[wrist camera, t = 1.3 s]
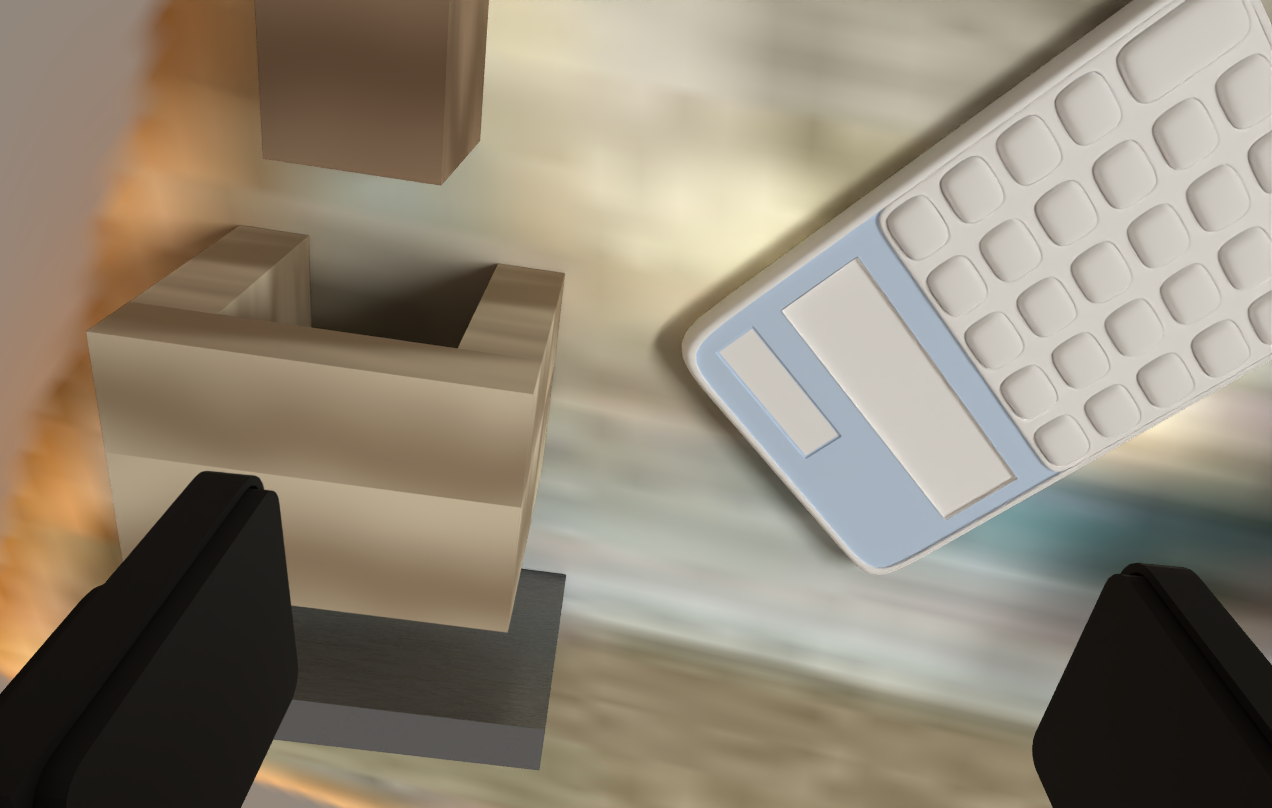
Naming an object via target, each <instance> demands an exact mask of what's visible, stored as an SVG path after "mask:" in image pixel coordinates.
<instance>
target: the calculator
mask: <svg viewBox="0 0 1272 808" xmlns="http://www.w3.org/2000/svg"><path fill="white" fill-rule="evenodd" d="M1262 56H1263V57H1262ZM1096 72H1097V73H1096ZM1099 74H1100V75H1099ZM1194 98H1195V99H1194ZM1196 99H1197V100H1196ZM1039 117H1040V118H1041V119H1042V120H1041V119H1040V118H1039ZM1045 124H1046V125H1045ZM1236 128H1238V129H1236ZM1134 141H1135V142H1134ZM986 163H987V164H986ZM1226 164H1227V165H1226ZM1228 165H1229V166H1228ZM1230 166H1231V167H1230ZM989 167H990V168H989ZM991 170H992V171H991ZM994 175H995V176H994ZM1017 182H1018V183H1017ZM1019 183H1020V184H1019ZM1021 184H1022V185H1021ZM930 201H931V202H932V203H931V202H930ZM1169 205H1170V206H1169ZM934 206H935V207H934ZM936 209H937V210H936ZM938 212H939V213H938ZM940 215H941V216H940ZM942 218H943V219H942ZM943 220H944V221H943ZM1025 226H1026V227H1025ZM947 228H948V229H947ZM1028 230H1029V231H1028ZM1030 233H1031V234H1030ZM1033 238H1034V239H1033ZM1112 243H1113V244H1114V245H1113V244H1112ZM969 260H970V261H969ZM972 264H973V265H974V266H973V265H972ZM1149 267H1150V268H1149ZM975 268H976V269H975ZM977 271H978V272H977ZM979 274H980V275H979ZM999 278H1000V279H999ZM982 279H983V280H982ZM983 281H984V282H983ZM1061 284H1062V285H1061ZM1234 287H1235V288H1234ZM1236 288H1237V289H1236ZM1067 293H1068V294H1067ZM1089 300H1090V301H1089ZM1091 301H1092V302H1091ZM1150 306H1151V307H1150ZM1006 316H1007V317H1006ZM1010 321H1011V322H1010ZM1177 321H1178V322H1177ZM1179 322H1180V323H1179ZM1012 324H1013V325H1012ZM1014 327H1015V328H1014ZM1016 330H1017V331H1016ZM1017 332H1018V333H1017ZM1035 333H1036V334H1035ZM1020 337H1021V338H1020ZM1095 339H1096V340H1095ZM1098 343H1099V344H1098ZM681 346H682V356H683V360H684V362H685V364H686V366H687V368H688V370H689V372H690V373H691V375H692V376H693V377H694V379H695V380H696V381H697V383H698V384H699V385H700V386H701V388H702V389H703V390H704V391H705V392H706V394H707V395H708V396H709V397H710V398H711V399H712V401H713V402H714V403H715V404H716V405H717V406H718V408H719V409H720V410H721V411H722V412H723V413H724V414H725V416H726V417H727V418H728V419H729V420H730V421H731V423H732V424H733V425H734V426H735V427H736V428H737V429H738V431H739V432H740V433H741V434H742V435H743V436H744V438H745V439H746V440H747V441H748V442H749V443H750V445H751V446H752V447H753V448H754V449H755V450H756V451H757V453H758V454H759V455H760V456H761V457H762V458H763V460H764V461H765V462H766V463H767V464H768V465H769V466H770V468H771V469H772V470H773V471H774V472H775V473H776V475H777V476H778V477H779V478H780V479H781V480H782V482H783V483H784V484H785V485H786V486H787V487H788V488H789V490H790V491H791V492H792V493H793V494H794V495H795V497H796V498H797V499H798V500H799V501H800V502H801V503H802V505H803V506H804V507H805V508H806V509H807V510H808V512H809V513H810V514H811V515H812V516H813V517H814V519H815V520H816V521H817V522H818V523H819V524H820V525H821V527H822V528H823V529H824V530H825V531H826V532H827V534H828V535H829V536H830V537H831V538H832V539H833V541H834V542H835V543H836V544H837V545H838V546H839V547H840V549H841V550H842V551H843V552H844V553H845V554H846V555H847V556H848V557H849V558H850V559H851V560H852V561H853V562H854V563H855V564H856V565H857V566H858V567H860V568H861V569H862V570H864V571H865V572H867V573H870V574H874V575H882V574H888V573H891V572H893V571H896V570H898V569H901V568H903V567H905V566H907V565H909V564H911V563H913V562H915V561H916V560H918V559H920V558H922V557H924V556H926V555H927V554H929V553H931V552H933V551H934V550H936V549H938V548H940V547H942V546H943V545H945V544H947V543H949V542H950V541H952V540H954V539H956V538H957V537H959V536H961V535H963V534H965V533H966V532H968V531H970V530H972V529H973V528H975V527H977V526H979V525H980V524H982V523H984V522H986V521H987V520H989V519H991V518H993V517H995V516H996V515H998V514H1000V513H1002V512H1003V511H1005V510H1007V509H1009V508H1010V507H1012V506H1014V505H1016V504H1017V503H1019V502H1021V501H1023V500H1025V499H1026V498H1028V497H1030V496H1032V495H1033V494H1035V493H1037V492H1039V491H1040V490H1042V489H1044V488H1046V487H1047V486H1049V485H1051V484H1053V483H1055V482H1056V481H1058V480H1060V479H1062V478H1063V477H1065V476H1067V475H1069V474H1070V473H1072V472H1074V471H1076V470H1077V469H1079V468H1081V467H1083V466H1085V465H1086V464H1088V463H1090V462H1092V461H1093V460H1095V459H1097V458H1099V457H1100V456H1102V455H1104V454H1106V453H1107V452H1109V451H1111V450H1113V449H1115V448H1116V447H1118V446H1120V445H1122V444H1123V443H1125V442H1127V441H1129V440H1130V439H1132V438H1134V437H1136V436H1138V435H1139V434H1141V433H1143V432H1145V431H1146V430H1148V429H1150V428H1152V427H1153V426H1155V425H1157V424H1159V423H1160V422H1162V421H1164V420H1166V419H1168V418H1169V417H1171V416H1173V415H1175V414H1176V413H1178V412H1180V411H1182V410H1183V409H1185V408H1187V407H1189V406H1190V405H1192V404H1194V403H1196V402H1198V401H1199V400H1201V399H1203V398H1205V397H1206V396H1208V395H1210V394H1212V393H1213V392H1215V391H1217V390H1219V389H1220V388H1222V387H1224V386H1226V385H1228V384H1229V383H1231V382H1233V381H1235V380H1236V379H1238V378H1240V377H1242V376H1243V375H1245V374H1247V373H1249V372H1250V371H1252V370H1254V369H1256V368H1258V367H1259V366H1261V365H1263V364H1265V363H1266V362H1268V361H1270V360H1272V25H1271V23H1270V20H1269V18H1268V16H1267V14H1266V11H1265V9H1264V7H1263V5H1262V3H1261V0H1133V1H1131V2H1130V3H1128V4H1127V5H1126V6H1124V7H1123V8H1122V9H1120V10H1119V11H1117V12H1116V13H1115V14H1113V15H1112V16H1111V17H1109V18H1108V19H1106V20H1105V21H1104V22H1102V23H1101V24H1100V25H1098V26H1097V27H1095V28H1094V29H1093V30H1091V31H1090V32H1089V33H1087V34H1086V35H1084V36H1083V37H1082V38H1080V39H1079V40H1078V41H1076V42H1075V43H1073V44H1072V45H1071V46H1069V47H1068V48H1067V49H1065V50H1064V51H1062V52H1061V53H1060V54H1058V55H1057V56H1056V57H1054V58H1053V59H1051V60H1050V61H1049V62H1047V63H1046V64H1045V65H1043V66H1042V67H1041V68H1039V69H1038V70H1036V71H1035V72H1034V73H1032V74H1031V75H1030V76H1028V77H1027V78H1025V79H1024V80H1023V81H1021V82H1020V83H1019V84H1017V85H1016V86H1014V87H1013V88H1012V89H1010V90H1009V91H1008V92H1006V93H1005V94H1003V95H1002V96H1001V97H999V98H998V99H997V100H995V101H994V102H992V103H991V104H990V105H988V106H987V107H986V108H984V109H983V110H981V111H980V112H979V113H977V114H976V115H975V116H973V117H972V118H970V119H969V120H968V121H966V122H965V123H964V124H962V125H961V126H960V127H958V128H957V129H955V130H954V131H953V132H951V133H950V134H949V135H947V136H946V137H944V138H943V139H942V140H940V141H939V142H938V143H936V144H935V145H933V146H932V147H931V148H929V149H928V150H927V151H925V152H924V153H922V154H921V155H920V156H918V157H917V158H916V159H914V160H913V161H911V162H910V163H909V164H907V165H906V166H905V167H903V168H902V169H900V170H899V171H898V172H896V173H895V174H894V175H892V176H891V177H889V178H888V179H887V180H885V181H884V182H883V183H881V184H880V185H879V186H877V187H876V188H874V189H873V190H872V191H870V192H869V193H868V194H866V195H865V196H863V197H862V198H861V199H859V200H858V201H857V202H855V203H854V204H852V205H851V206H850V207H848V208H847V209H846V210H844V211H843V212H841V213H840V214H839V215H837V216H836V217H835V218H833V219H832V220H830V221H829V222H828V223H826V224H825V225H824V226H822V227H821V228H819V229H818V230H817V231H815V232H814V233H813V234H811V235H810V236H809V237H807V238H806V239H804V240H803V241H802V242H800V243H799V244H798V245H796V246H795V247H793V248H792V249H791V250H789V251H788V252H787V253H785V254H784V255H782V256H781V257H780V258H778V259H777V260H776V261H774V262H773V263H771V264H770V265H769V266H767V267H766V268H765V269H763V270H762V271H760V272H759V273H758V274H756V275H755V276H754V277H752V278H751V279H749V280H748V281H747V282H745V283H744V284H743V285H741V286H740V287H739V288H737V289H736V290H734V291H733V292H732V293H730V294H729V295H728V296H726V297H725V298H724V299H722V300H721V301H719V302H718V303H717V304H715V305H714V306H713V307H712V308H710V309H709V310H708V311H707V312H705V313H704V314H703V315H702V316H700V317H699V318H698V319H697V320H696V321H695V322H694V323H693V324H692V325H691V326H690V327H689V328H688V330H687V331H686V333H685V336H684V338H683V340H682V343H681ZM1176 354H1177V355H1178V356H1179V357H1180V358H1179V357H1178V356H1177V355H1176ZM1041 369H1042V370H1041ZM1045 374H1046V375H1045ZM1047 377H1048V378H1047ZM1049 380H1050V381H1049ZM1050 382H1051V383H1050ZM1052 385H1053V386H1052ZM1069 385H1070V386H1069ZM1123 386H1124V387H1123ZM1125 388H1126V389H1125ZM1128 392H1129V393H1128ZM1132 398H1133V399H1132ZM1135 403H1136V404H1135ZM1152 404H1153V405H1152ZM1154 405H1155V406H1154ZM1075 420H1076V421H1075ZM1078 424H1079V425H1078ZM1080 427H1081V428H1080ZM1082 430H1083V431H1082ZM1083 432H1084V433H1083ZM1101 434H1102V435H1101ZM1086 437H1087V438H1086Z"/></svg>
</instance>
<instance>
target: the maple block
mask: <svg viewBox="0 0 1272 808" xmlns="http://www.w3.org/2000/svg"><path fill="white" fill-rule="evenodd" d="M564 277H565V274H564V273H557V272H551V271H544V270H537V269H530V268H524V267H517V266H510V265H503V264H498V265H497V267H496V269H495V271H494V273H493V275H492V277H491V280H490V282H489V284H488V286H487V288H486V290H485V292H484V294H483V296H482V298H481V301H480V303H479V305H478V307H477V309H476V311H475V313H474V315H473V317H472V319H471V321H470V324H469V326H468V328H467V330H466V332H465V334H464V336H463V338H462V340H461V342H460V345H459V347H458V348H451V347H444V346H437V345H430V344H423V343H416V342H409V341H402V340H395V339H388V338H381V337H374V336H367V335H360V334H353V333H346V332H339V331H332V330H325V329H318V328H311V297H310V261H309V236H308V235H302V234H295V233H288V232H281V231H275V230H268V229H261V228H255V227H248V226H241V225H239V226H238V227H236V228H235V229H234V230H232V231H231V232H229V233H228V234H226V235H225V236H223V237H222V238H221V239H219V240H218V241H216V242H215V243H213V244H212V245H210V246H209V247H208V248H206V249H205V250H203V251H202V252H200V253H199V254H197V255H196V256H194V257H193V258H192V259H190V260H189V261H187V262H186V263H184V264H183V265H181V266H180V267H179V268H177V269H176V270H174V271H173V272H171V273H170V274H168V275H167V276H166V277H164V278H163V279H161V280H160V281H158V282H157V283H155V284H154V285H152V286H151V287H150V288H148V289H147V290H145V291H144V292H142V293H141V294H139V295H138V296H137V297H135V298H134V299H132V300H131V301H129V302H128V303H126V304H125V305H124V306H122V307H121V308H119V309H118V310H116V311H115V312H113V313H112V314H110V315H109V316H108V317H106V318H105V319H103V320H102V321H100V322H99V323H97V324H96V325H95V326H93V327H92V328H90V329H89V330H87V331H86V335H87V341H88V348H89V354H90V360H91V366H92V373H93V379H94V385H95V391H96V398H97V404H98V410H99V416H100V423H101V429H102V435H103V441H104V448H105V454H106V460H107V466H108V473H109V479H110V485H111V491H112V498H113V504H114V510H115V516H116V523H117V529H118V535H119V541H120V548H121V554H122V560H123V561H124V560H125V559H126V558H127V557H128V555H129V554H130V553H131V552H132V551H133V549H134V548H135V547H136V546H137V545H138V544H139V542H140V541H141V540H142V539H143V538H144V536H145V535H146V534H147V533H148V532H149V531H150V529H151V528H152V527H153V526H154V525H155V523H156V522H157V521H158V520H159V519H160V518H161V516H162V515H163V514H164V513H165V512H166V510H167V509H168V508H169V507H170V506H171V505H172V503H173V502H174V501H175V500H176V499H177V497H178V496H179V495H180V494H181V493H182V492H183V490H184V489H185V488H186V487H187V486H188V484H189V483H190V482H191V481H192V480H193V479H194V477H195V476H197V475H198V474H199V473H200V472H203V471H215V472H225V473H235V474H245V475H255V476H257V477H259V478H260V479H261V481H262V483H263V486H264V490H273V491H275V492H276V493H277V495H278V498H279V503H280V512H281V520H282V529H283V538H284V546H285V555H286V564H287V573H288V581H289V590H290V599H291V605H292V606H300V607H308V608H316V609H324V610H332V611H340V612H348V613H356V614H364V615H372V616H380V617H388V618H396V619H404V620H412V621H420V622H428V623H436V624H444V625H452V626H460V627H468V628H476V629H484V630H492V631H500V632H508V629H509V624H510V620H511V615H512V610H513V605H514V600H515V596H516V591H517V586H518V581H519V576H520V572H521V567H522V562H523V557H524V552H525V548H526V543H527V538H528V533H529V528H530V524H531V519H532V514H533V509H534V504H535V500H536V495H537V490H538V485H539V480H540V476H541V471H542V464H543V455H544V447H545V439H546V430H547V422H548V413H549V405H550V396H551V388H552V379H553V371H554V362H555V354H556V345H557V337H558V328H559V320H560V311H561V303H562V294H563V286H564Z"/></svg>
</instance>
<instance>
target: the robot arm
mask: <svg viewBox="0 0 1272 808" xmlns="http://www.w3.org/2000/svg"><path fill="white" fill-rule="evenodd" d="M297 680H298V660H297V651H296V642H295V634H294V625H293V616H292V607H291V599H290V590H289V581H288V573H287V564H286V555H285V546H284V538H283V529H282V520H281V512H280V503H279V498H278V495H277V493H276V492H275V491H273V490H264V486H263V483H262V481H261V479H260V478H259V477H257V476H255V475H245V474H235V473H225V472H215V471H203V472H200V473H199V474H198V475H197V476H195V477H194V479H193V480H192V481H191V482H190V483H189V484H188V486H187V487H186V488H185V489H184V490H183V492H182V493H181V494H180V495H179V496H178V497H177V499H176V500H175V501H174V502H173V503H172V505H171V506H170V507H169V508H168V509H167V510H166V512H165V513H164V514H163V515H162V516H161V518H160V519H159V520H158V521H157V522H156V523H155V525H154V526H153V527H152V528H151V529H150V531H149V532H148V533H147V534H146V535H145V536H144V538H143V539H142V540H141V541H140V542H139V544H138V545H137V546H136V547H135V548H134V549H133V551H132V552H131V553H130V554H129V555H128V557H127V558H126V559H125V560H124V561H123V562H122V564H121V565H120V566H119V567H118V568H117V570H116V571H115V572H114V573H113V574H112V575H111V577H110V578H109V579H108V580H107V581H106V583H105V584H103V585H101V586H98V587H96V588H94V589H93V590H91V591H90V592H89V593H88V594H87V595H86V596H85V597H84V598H83V599H82V600H81V601H80V602H79V603H78V604H77V605H76V607H75V608H74V609H73V610H72V611H71V612H70V614H69V615H68V616H67V617H66V618H65V619H64V620H63V622H62V623H61V624H60V625H59V626H58V627H57V629H56V630H55V631H54V632H53V633H52V634H51V636H50V637H49V638H48V639H47V640H46V641H45V643H44V644H43V645H42V646H41V647H40V648H39V650H38V651H37V652H36V653H35V654H34V655H33V657H32V658H31V659H30V660H29V661H28V662H27V663H26V665H25V666H24V667H23V668H22V669H21V670H20V672H19V673H18V674H17V675H16V676H15V677H14V679H13V680H12V681H11V682H10V683H9V684H8V686H7V687H6V688H5V689H4V690H3V691H2V693H1V694H0V808H241V806H242V804H243V802H244V800H245V798H246V796H247V793H248V792H249V789H250V787H251V785H252V783H253V781H254V779H255V777H256V775H257V773H258V771H259V768H260V766H261V764H262V762H263V760H264V758H265V756H266V754H267V752H268V750H269V747H270V745H271V743H272V741H273V739H274V737H275V735H276V733H277V731H278V729H279V726H280V724H281V722H282V720H283V718H284V716H285V714H286V712H287V710H288V708H289V705H290V703H291V701H292V699H293V696H294V693H295V689H296V685H297ZM1032 754H1033V761H1034V765H1035V768H1036V771H1037V773H1038V775H1039V778H1040V780H1041V782H1042V784H1043V787H1044V789H1045V791H1046V793H1047V796H1048V798H1049V800H1050V802H1051V805H1052V807H1053V808H1272V665H1271V663H1270V662H1269V661H1268V660H1267V659H1266V657H1265V656H1264V655H1263V654H1262V653H1261V651H1260V650H1259V649H1258V648H1257V647H1256V645H1255V644H1254V643H1253V642H1252V641H1251V639H1250V638H1249V637H1248V636H1247V635H1246V633H1245V632H1244V631H1243V630H1242V628H1241V627H1240V626H1239V625H1238V624H1237V622H1236V621H1235V620H1234V619H1233V618H1232V616H1231V615H1230V614H1229V613H1228V612H1227V610H1226V609H1225V608H1224V607H1223V606H1222V604H1221V603H1220V602H1219V601H1218V599H1217V598H1216V597H1215V596H1214V595H1213V593H1212V592H1211V591H1210V590H1209V589H1208V587H1207V586H1206V585H1205V584H1204V583H1203V581H1202V580H1201V579H1200V578H1199V577H1198V576H1197V575H1196V574H1195V573H1194V572H1193V571H1192V570H1190V569H1187V568H1184V567H1174V566H1164V565H1154V564H1144V563H1133V564H1130V565H1128V566H1127V567H1125V568H1124V569H1123V571H1122V572H1121V574H1115V575H1113V576H1111V577H1110V578H1109V579H1108V580H1107V582H1106V584H1105V585H1104V588H1103V590H1102V592H1101V594H1100V596H1099V598H1098V600H1097V603H1096V605H1095V607H1094V609H1093V611H1092V613H1091V615H1090V618H1089V620H1088V622H1087V624H1086V626H1085V628H1084V630H1083V632H1082V635H1081V637H1080V639H1079V641H1078V643H1077V645H1076V647H1075V650H1074V652H1073V654H1072V656H1071V658H1070V660H1069V662H1068V664H1067V667H1066V669H1065V671H1064V673H1063V675H1062V677H1061V679H1060V682H1059V684H1058V686H1057V688H1056V690H1055V692H1054V694H1053V697H1052V699H1051V701H1050V703H1049V705H1048V707H1047V709H1046V711H1045V714H1044V716H1043V718H1042V720H1041V722H1040V724H1039V726H1038V729H1037V731H1036V733H1035V736H1034V739H1033V745H1032Z"/></svg>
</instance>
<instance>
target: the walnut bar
mask: <svg viewBox="0 0 1272 808" xmlns="http://www.w3.org/2000/svg"><path fill="white" fill-rule="evenodd" d="M488 5H489V0H255V15H256V34H257V53H258V72H259V91H260V110H261V129H262V149H263V159H270V160H276V161H283V162H289V163H296V164H303V165H309V166H316V167H322V168H329V169H336V170H342V171H349V172H355V173H362V174H369V175H375V176H382V177H388V178H395V179H402V180H408V181H415V182H421V183H428V184H435V185H442V184H443V183H444V182H445V181H446V179H447V178H448V177H449V176H450V175H451V174H452V172H453V171H454V170H455V169H456V168H457V167H458V166H459V164H460V163H461V162H462V161H463V160H464V159H465V157H466V156H467V155H468V154H469V153H470V152H471V150H472V149H473V148H474V147H475V146H476V145H477V144H478V142H479V141H480V133H481V117H482V101H483V85H484V69H485V53H486V37H487V21H488Z"/></svg>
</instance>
